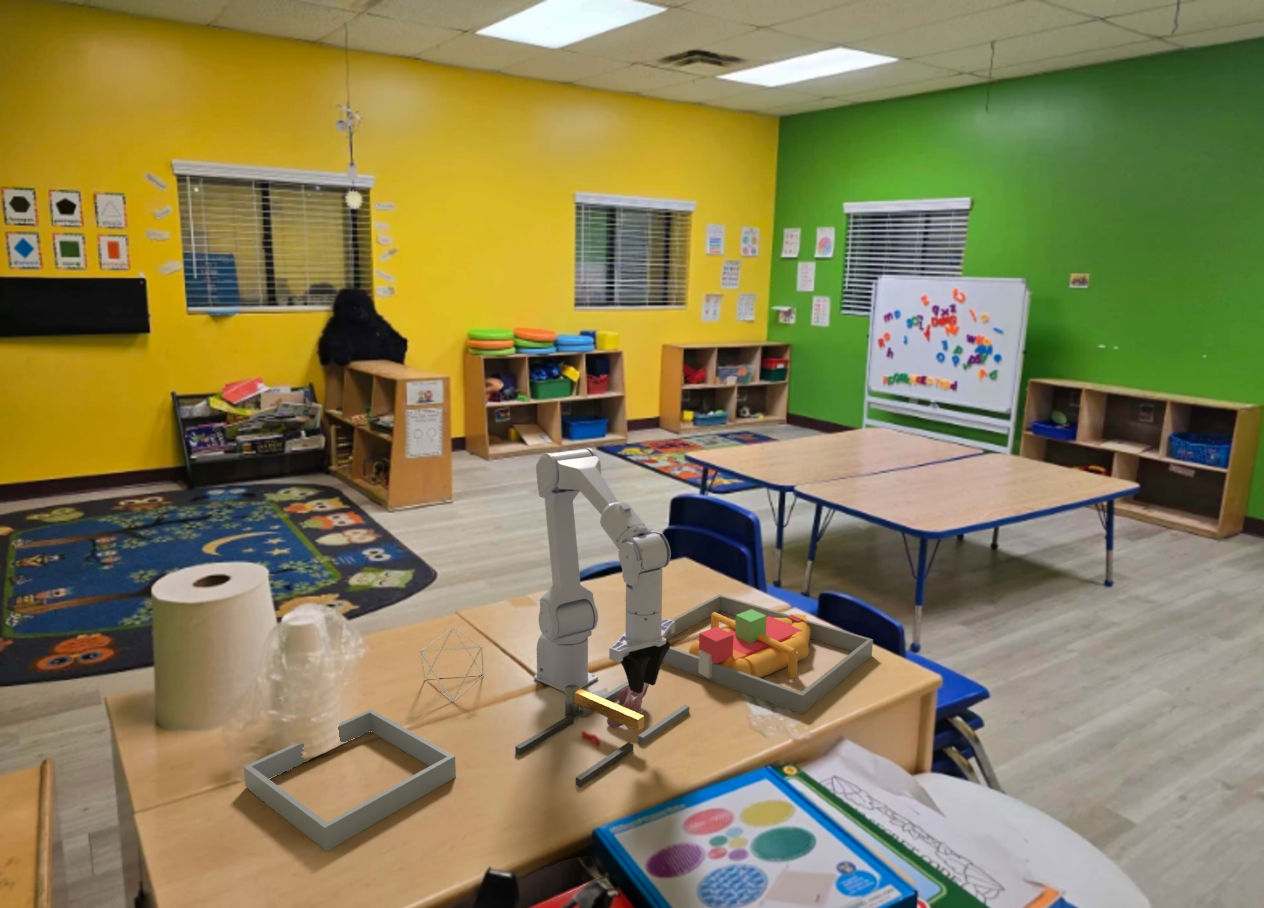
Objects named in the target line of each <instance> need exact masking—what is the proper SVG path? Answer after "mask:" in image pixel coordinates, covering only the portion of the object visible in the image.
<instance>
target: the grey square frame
mask: <svg viewBox="0 0 1264 908" xmlns="http://www.w3.org/2000/svg"><path fill="white" fill-rule="evenodd" d="M339 723H340V724H339ZM339 723H338V724H339V726H338V730H339V737H340V741H341V742H346V741H349V740H351V739H353V738H357V737H358V736H361V735H363V734H365V733H367V734H369V733H370V732H369V731H372V732H373V734H374V733H375V735H376V736H377V735H378V736H377V737H379V738H381V739H383V740H384V741H385V742H388V743H389V744H391V745H393V746H394V747H396V748H397V749H400V750H401V751H403V752H405V753H407V754H408V755H410V756H411V757H413V758H415V759H416V760H418V761H420V762H421V763H423V764H425V765H426V766H427V767H426V768H423V769H422V770H420V771H418V772H417V773H415V774H413V775H412V776H409V777H407V778H406V779H404V780H402V781H400V782H398V783H397V784H395V785H393V786H391V787H389V788H388V789H385V790H383V791H382V792H380V793H378V794H376V795H375V796H373V797H370V798H368V799H367V800H366V801H364V802H362V803H360V804H357V805H356V806H354V807H352V808H351V809H349V810H347V811H345V812H344V813H342V814H340V815H338V816H336V817H334V818H332V819H330V820H328V821H326V820H324V819H323V818H322V817H320V815H318V814H317V813H315V812H314V811H313V810H311V809H310V808H308V807H307V806H305V805H304V804H303V803H301V802H300V801H299V800H298V799H296V798H295V797H293V796H292V795H291V794H290V793H288V792H287V791H286V790H284V789H283V788H281V787H280V786H279V785H277V784H276V783H275V782H273V781H272V779H271V780H269V778H271V777H273V776H275V775H278V774H280V773H283V772H285V771H287V770H289V769H291V768H293V767H296V766H298V765H299V764H302V763H303V761H304V760H303V759H304V758H302V757H301V756H302V755H303V754H302V753H301V752H302V751H304V750H303V749H302V747H304V744H303V743H304V742H303V743H300V744H296V745H293V744H290V745H289V746H285V747H284V748H282V749H280V750H278V751H275V752H272V753H271V754H268V755H267V756H264V757H262V758H259V759H258V760H255V761H253V762H251V763H249V764H246V765H244V766H243V774H244V782H245V783H244V786H245V788H246V787H247V788H248V789H250V790H251V791H252V792H253V793H255V794H256V795H257V796H258V797H259V798H260V799H259V798H258V797H257V796H256V797H257V798H258V799H259V800H261V801H262V800H263V801H264V802H265V803H264V802H263V801H262V802H263V803H264V804H266V805H267V806H269V808H271V809H272V810H273V809H274V810H273V811H274V812H276V813H277V814H278V815H280V816H281V817H282V818H283V819H285V820H286V821H287V822H289V823H290V824H291V825H293V827H295V828H297V830H299V831H300V832H302V833H303V834H304V835H305V836H306V837H308V838H309V839H310V840H312V841H313V842H314V843H316V845H318V846H319V847H321V848H322V849H323V850H325V851H326V852H328V851H330V850H331V849H333V848H335V847H336V846H340V844H342V843H344V842H346V841H348V840H349V839H350V838H351V839H352V838H353V837H354V836H356V835H358V834H359V833H361V832H362V831H364V830H366V829H367V828H369V827H371V826H373V825H375V824H376V823H378V822H380V821H382V820H384V819H386V818H387V817H389V816H391V815H392V814H394V813H396V812H397V811H399V810H401V809H403V808H404V807H406V806H408V805H409V804H411V803H413V802H416V801H417V800H419V799H420V798H422V797H424V796H425V795H428V794H429V793H431V792H433V791H434V790H436V789H439V788H440V787H441V786H443V785H445V784H446V783H448V782H450V781H451V780H454V779H455V778H456V777H457V770H456V767H457V766H456V756H455V755H454V754H452V753H451V752H448V751H446V750H445V749H444V748H441V747H440V746H438V745H436V744H434V743H432V742H431V741H429V740H427V739H425V738H424V737H422V736H420V735H418V734H416V733H415V732H413V731H411V730H409V729H408V728H406V727H404V726H402V725H401V724H399V723H397V722H396V721H393V720H391V718H388V717H386V716H384V715H383V714H381V713H379V712H377V711H375V710H374V709H372V708H370V709H367V710H366V711H364V712H361V713H359V714H357V715H354V716H353V717H350V718H348V719H346V720H344V721H341V722H339ZM368 732H369V733H368ZM372 732H371V733H372ZM365 735H366V734H365ZM363 736H364V735H363ZM361 737H362V736H361ZM357 739H358V738H357ZM302 765H303V764H302ZM298 767H299V766H298ZM296 768H297V767H296ZM291 770H292V769H291ZM289 771H290V770H289ZM287 772H288V771H287ZM285 773H286V772H285ZM283 774H284V773H283ZM248 789H247V790H248ZM252 792H251V793H252ZM253 793H252V794H253Z"/></svg>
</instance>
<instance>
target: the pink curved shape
mask: <svg viewBox="0 0 1264 908" xmlns="http://www.w3.org/2000/svg"><path fill="white" fill-rule="evenodd" d="M649 686H650V684H647V683H645V682H644V687H643V691H642V693H640V694H638V693H636V692H634V691H631V690H630V687H629V686H628V687H626V688H624V689H623V690H621V691H620V692H619V694H618V697H617V700H618V702H619V703H622V704H623V705H621V706H622V707H624V708H627V709H629V710H631V711H634V712H636V713H638V714H641V715H642V714H643V710H644V708H642V705H643V698H644V697H645V696H646V694H647V692H648V688H649ZM606 723H607V725H608V726H609V727H611V728H618V727H622V726H624V725H623V724H621V723H619V722H616V721H614V720H612V719H610V718H607V717H606Z"/></svg>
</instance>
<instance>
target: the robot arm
mask: <svg viewBox="0 0 1264 908" xmlns="http://www.w3.org/2000/svg"><path fill="white" fill-rule="evenodd" d="M601 466H602V465H601V459H600V458H599V457H598V455H597V453H596V452H595V451H594V450H593V449H592V448H591V447H585V448H582V449H581V448H580V449H574V450H565V451H560V452H557V451H556V452H551V453H549V452H544V453H542V454H541V456H540V457H539V459H538V461H537V462H536V464H535V470H536V471H535V472H536V480H537V481H536V482H537V490H538V496H539V497H540V498H543V499H544V506H545V517H546V527H547V538H548V540H547V541H548V547H549V548H548V550H549V560H550V569H551V570H550V572H551V581H552V586H551V587H550V588H549V589H548V590H547V591H546V592H544V594H543V595H542V596H541V597H540V599H539V613H538V624H539V625H538V626H539V629H540V632H541V634H540V636H539V637H538V640H537V644H536V674H535V675H533V679H534V680H535V681H538V682H540V683H542V684H545V685H547V686H550V687H552V688H554V689H556V690H559V691H561V692H563V693H565V687H566V686H567V685H572V684H573V685H577V686H579V689H583V688H584V687H586V686H588V685H589V684H591V683H594V682H595V681H597V680H598V679H599V677H598V675H596V674H594V673H591V672H589V637H592V631H593V630H595V629H596V627H597V625H598V621H599V612H598V609H597V606H596V603H595V599H594V593H593V591H591V590H590V589H589V588H587V587H585V586H584V585H583V584H581V575H580V564H579V554H578V542H577V532H576V522H575V521H576V520H575V510H574V508H575V507H574V501H575V499H576V497H577V496H578V495H579V493H581V494H582V495H583V496H584V497H585V499H587V501H588V502H590V504H591V505H592V506H593V508H594V509H596V511H597V512H598V513H599V514H600V521H599V523H600V526H601V528H602V529H603V530H604V532H605V533H606V534H607V536H608V537H609V539H610V540H611V541H612V543H613V544H614V545H615V547H616V548H617V549H618V551H617V552H618V554H617V555H618V560H619V563H620V567H621V571H622V578H623V582H624V583H625V631H624V632H623V634H622V635H621V636H620V637H619V639H618V640H617V641H616V642H615V643H614V644H613V645H612V646H609V648H608V650H609V651H608V654H609V656H608V657H609V660H611V661H613V662H616V663H618V664H619V663H620V665H622V668H623V670H624V673H625V675H626V679H627V682H628V684H629V687H630V690H631V691H634V692H636V693H638V694H640V693H642V691H643V687H644V682H645V683H647V684H649V686H655V685H656V683H657V680H658V675H659V672H660V668H661V666H662V664H663V663H662V661H663V659H664V657H665V655H666V653H667V651H668V650H669V648H670V647H671V643H670V642H669V641H668V640H666V639H665V638H664V637H665V636H666V634H667V633H669V634H672V633H674V632H675V621H672V619H668V618H664V619H663V617H662V616H663V615H662V611H663V571H664V570H663V569H664V568H666V567H668V565H669V564H670V561H671V557H672V556H671V555H672V552H671V546H670V543H669V541H668V539H667V538H666V536H665V534H664V533H662V532H661V531H658V530H654V529H653V528H648V527H647V526H646V524H645V522H643V521H642V519H641V518H640V517H639V515H638V514H637V513H636V512H635V510H634V509H633V507H632V506H631V505H630V504H629V503H628V502H624V501H619V500H618V499H617V497H616V496H615V494H614V492H613V491H612V489H611V488H610V487H609V485H608V483H607V482H606V480H605V478H604V477H603V476H602V467H601Z"/></svg>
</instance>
